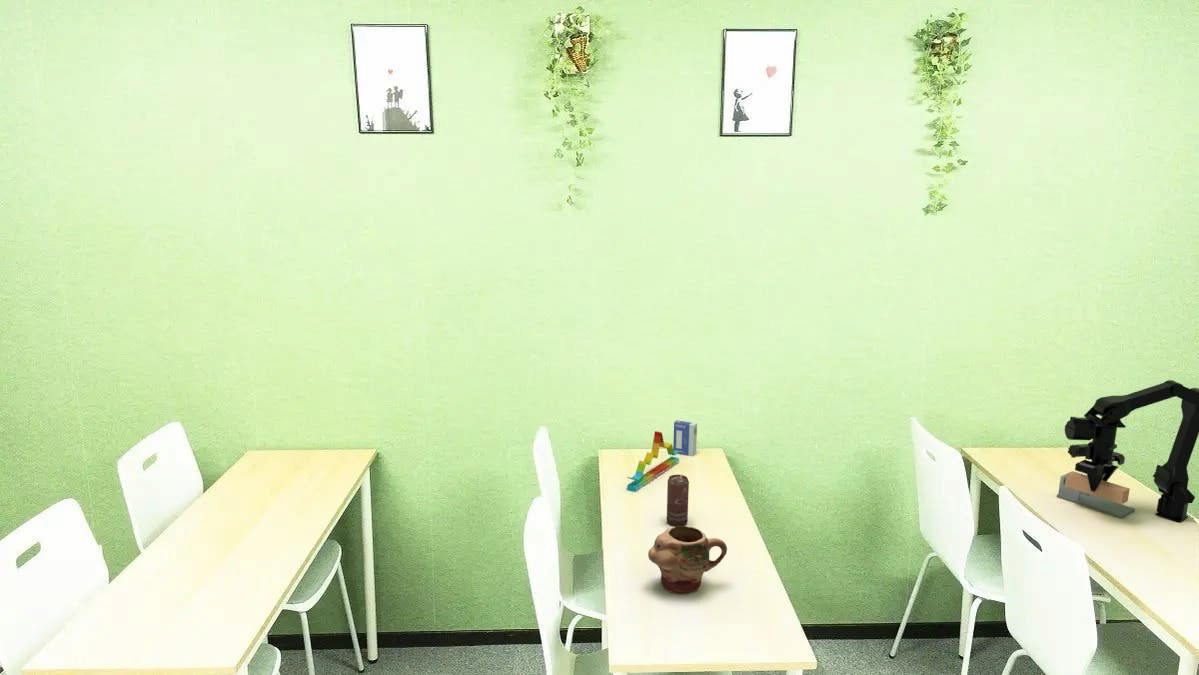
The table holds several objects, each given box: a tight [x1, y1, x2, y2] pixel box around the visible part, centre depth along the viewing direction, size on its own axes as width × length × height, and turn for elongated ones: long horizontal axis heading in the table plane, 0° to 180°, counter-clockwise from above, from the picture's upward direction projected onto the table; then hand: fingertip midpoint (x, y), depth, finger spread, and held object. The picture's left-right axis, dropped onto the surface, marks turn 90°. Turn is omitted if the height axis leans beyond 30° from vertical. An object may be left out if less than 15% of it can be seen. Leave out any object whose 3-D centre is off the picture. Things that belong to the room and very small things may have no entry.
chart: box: [626, 431, 680, 493], centre depth 271 cm, size 30×3×15 cm, turn 147°
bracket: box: [1057, 471, 1089, 500], centre depth 257 cm, size 6×7×6 cm
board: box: [1056, 493, 1136, 519], centre depth 253 cm, size 19×9×1 cm, turn 36°
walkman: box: [672, 419, 698, 457], centre depth 292 cm, size 8×3×12 cm, turn 64°
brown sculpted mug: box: [647, 525, 728, 595], centre depth 203 cm, size 20×12×14 cm, turn 104°
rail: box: [1065, 470, 1130, 505], centre depth 244 cm, size 16×4×4 cm, turn 35°
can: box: [666, 474, 690, 527], centre depth 237 cm, size 6×6×14 cm
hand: (1096, 489), depth 244 cm, fingers closed on rail, 4 cm apart
